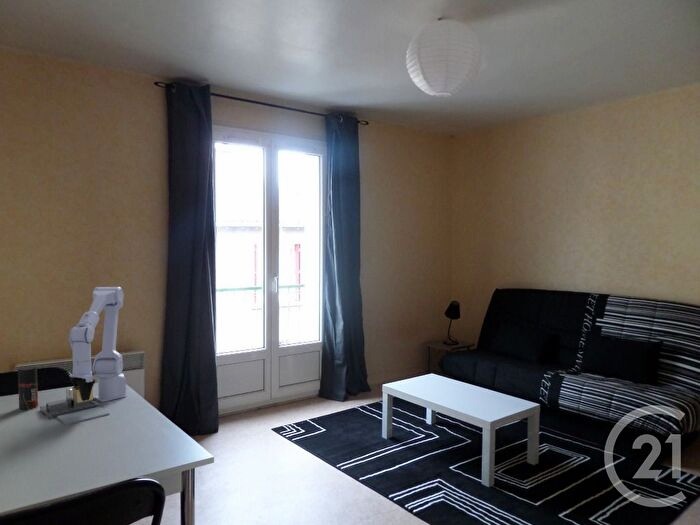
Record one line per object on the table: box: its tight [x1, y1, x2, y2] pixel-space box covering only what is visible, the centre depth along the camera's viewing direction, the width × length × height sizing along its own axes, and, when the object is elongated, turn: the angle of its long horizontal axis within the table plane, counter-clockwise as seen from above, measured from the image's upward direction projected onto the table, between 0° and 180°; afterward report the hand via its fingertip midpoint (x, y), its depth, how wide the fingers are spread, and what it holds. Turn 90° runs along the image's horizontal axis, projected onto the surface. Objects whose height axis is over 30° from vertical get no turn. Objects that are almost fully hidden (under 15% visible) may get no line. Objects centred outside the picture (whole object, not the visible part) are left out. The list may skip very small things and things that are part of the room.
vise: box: [39, 387, 99, 420], centre depth 181 cm, size 16×12×8 cm
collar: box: [71, 386, 94, 403], centre depth 173 cm, size 5×5×4 cm
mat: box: [56, 406, 110, 426], centre depth 174 cm, size 14×10×1 cm
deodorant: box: [17, 365, 39, 411], centre depth 183 cm, size 6×6×15 cm
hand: (83, 398), depth 174 cm, fingers closed on collar, 5 cm apart
